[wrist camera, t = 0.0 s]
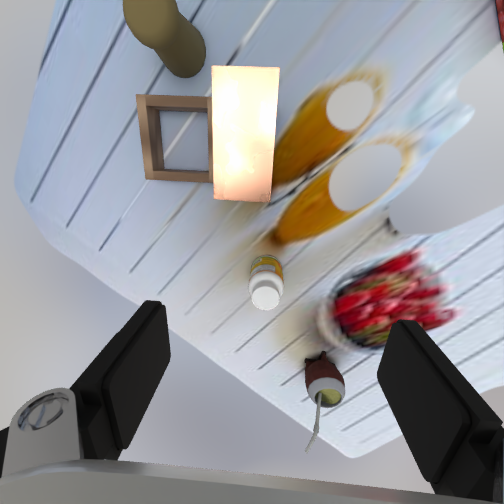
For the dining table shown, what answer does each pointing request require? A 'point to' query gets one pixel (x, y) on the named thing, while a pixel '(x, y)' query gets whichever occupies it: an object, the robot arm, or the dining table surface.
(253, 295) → the supplement bottle
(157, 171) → the socket block
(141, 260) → the dining table surface
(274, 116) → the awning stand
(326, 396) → the mate gourd
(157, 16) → the cork
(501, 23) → the snack box
